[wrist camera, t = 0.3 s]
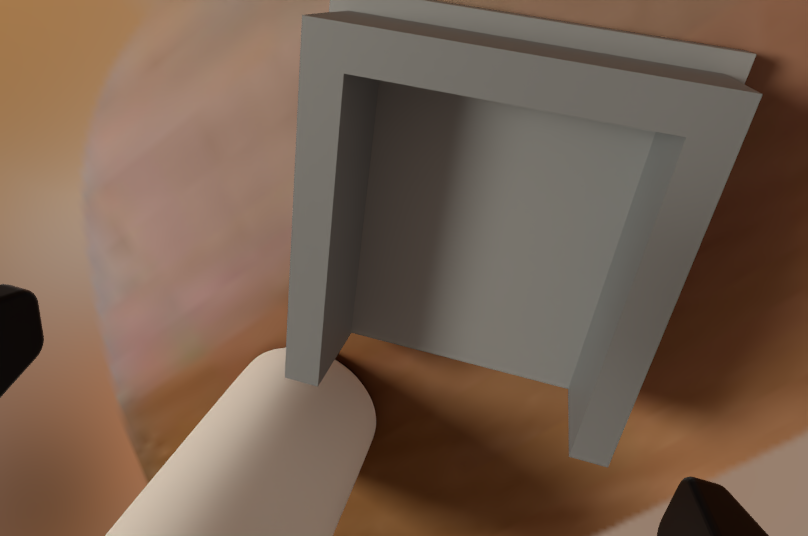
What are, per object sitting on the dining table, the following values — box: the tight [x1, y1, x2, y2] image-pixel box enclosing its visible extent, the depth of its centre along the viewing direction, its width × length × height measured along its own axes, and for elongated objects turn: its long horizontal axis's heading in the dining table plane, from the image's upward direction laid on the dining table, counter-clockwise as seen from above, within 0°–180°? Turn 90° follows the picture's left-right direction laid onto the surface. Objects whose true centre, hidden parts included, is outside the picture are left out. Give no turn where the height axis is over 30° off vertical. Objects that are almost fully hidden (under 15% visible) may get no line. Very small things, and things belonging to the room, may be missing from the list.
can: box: [105, 348, 376, 536], centre depth 21 cm, size 6×6×12 cm
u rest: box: [285, 0, 763, 467], centre depth 18 cm, size 12×12×4 cm
